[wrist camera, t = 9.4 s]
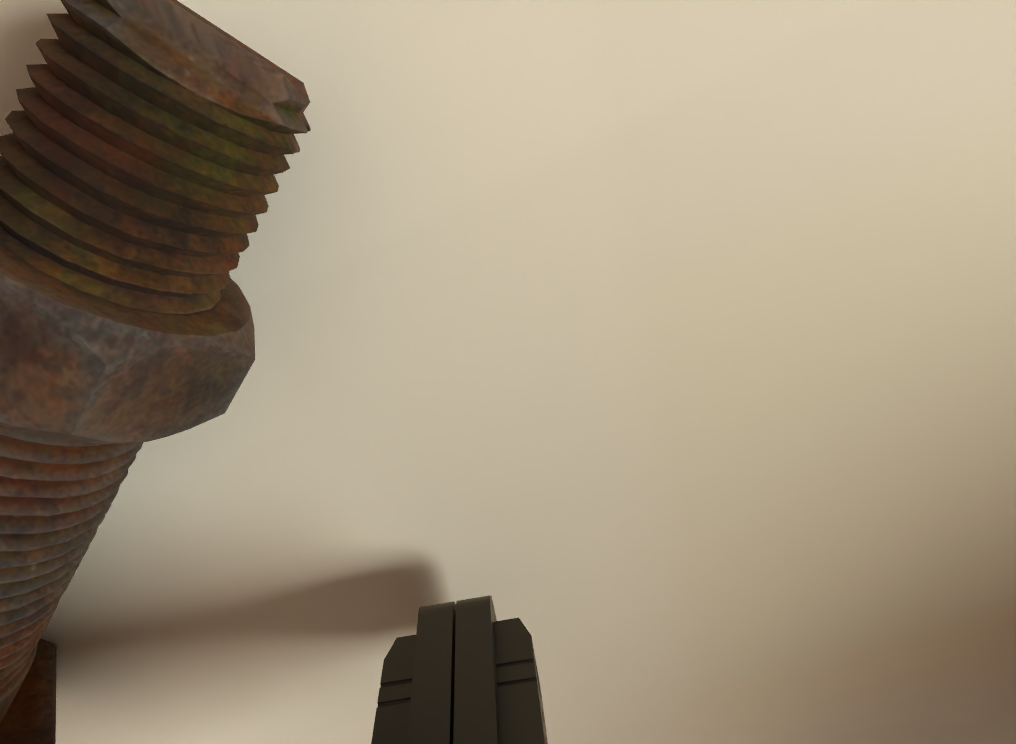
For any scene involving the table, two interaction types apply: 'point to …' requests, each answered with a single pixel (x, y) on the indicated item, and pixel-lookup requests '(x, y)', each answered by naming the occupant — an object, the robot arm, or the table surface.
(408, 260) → the table surface
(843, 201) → the table surface
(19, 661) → the bolt
